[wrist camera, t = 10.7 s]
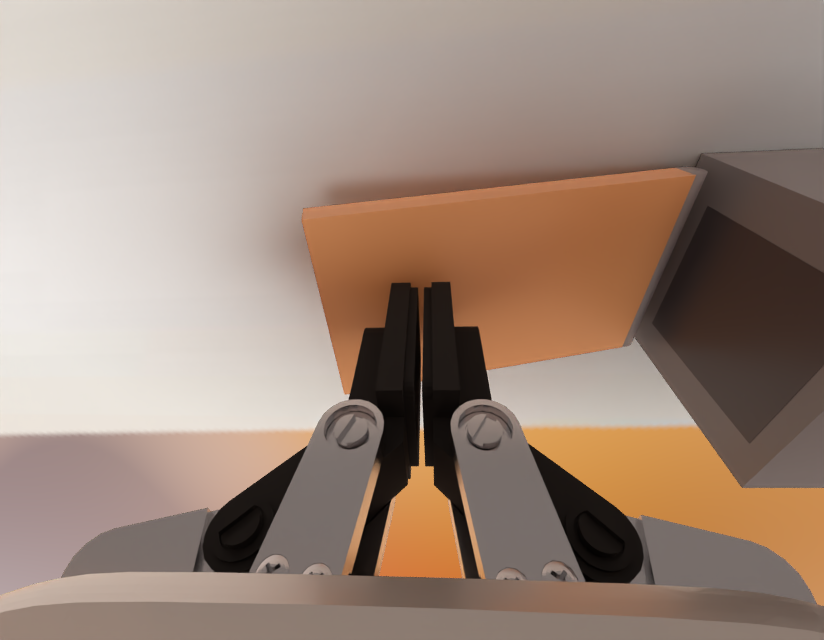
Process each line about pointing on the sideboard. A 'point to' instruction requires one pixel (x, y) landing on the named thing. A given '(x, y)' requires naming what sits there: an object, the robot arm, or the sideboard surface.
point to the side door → (506, 261)
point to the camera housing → (749, 315)
